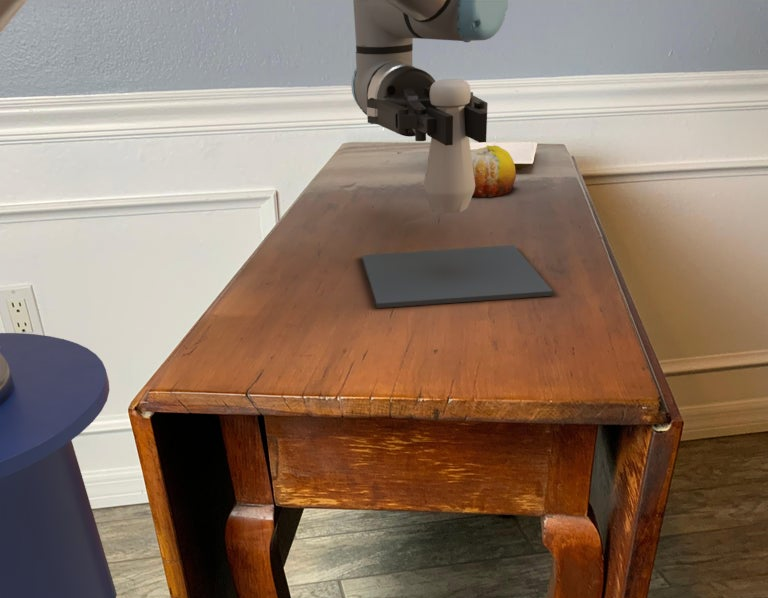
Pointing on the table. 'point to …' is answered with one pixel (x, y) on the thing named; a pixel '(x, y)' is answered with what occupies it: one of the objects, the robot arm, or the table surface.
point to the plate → (513, 151)
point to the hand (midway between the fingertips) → (466, 129)
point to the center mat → (452, 276)
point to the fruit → (492, 171)
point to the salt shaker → (450, 152)
